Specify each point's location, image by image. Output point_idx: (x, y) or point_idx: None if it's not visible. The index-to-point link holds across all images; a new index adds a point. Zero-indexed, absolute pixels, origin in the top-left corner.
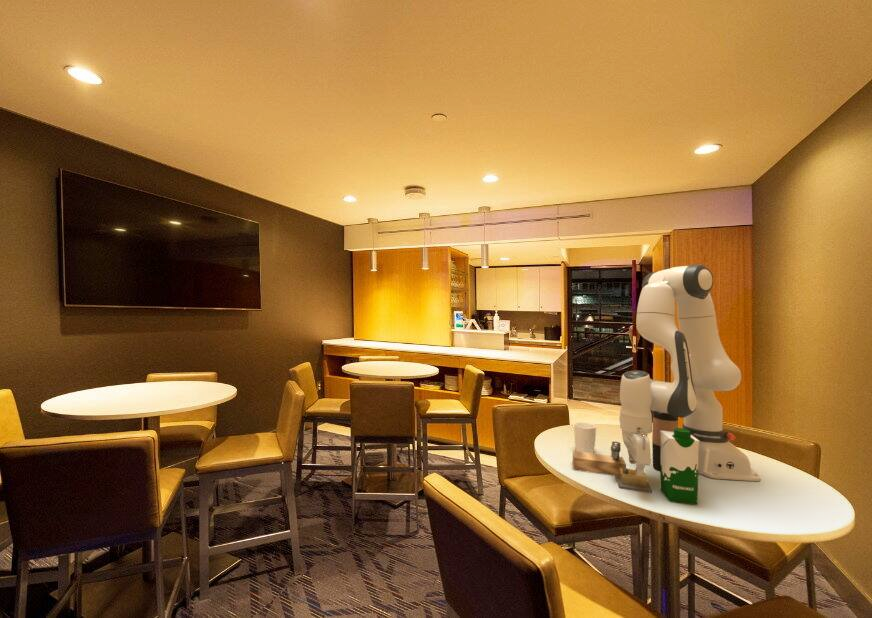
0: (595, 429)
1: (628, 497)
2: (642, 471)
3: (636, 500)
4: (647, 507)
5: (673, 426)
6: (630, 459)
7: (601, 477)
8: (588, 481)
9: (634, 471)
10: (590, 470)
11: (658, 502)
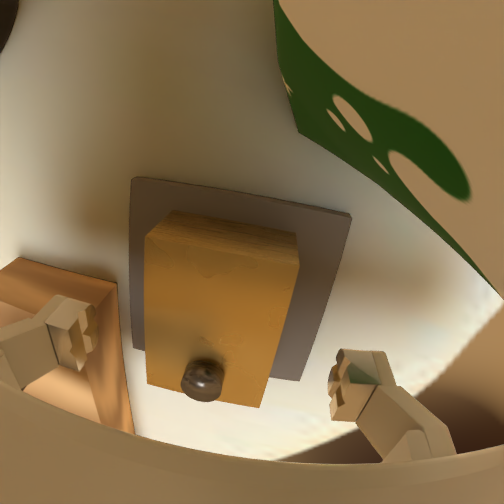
0: None
1: (400, 362)
2: (388, 382)
3: (432, 338)
4: (491, 313)
5: None
6: (83, 360)
7: (175, 398)
8: (240, 446)
9: (181, 317)
10: (128, 417)
11: None
